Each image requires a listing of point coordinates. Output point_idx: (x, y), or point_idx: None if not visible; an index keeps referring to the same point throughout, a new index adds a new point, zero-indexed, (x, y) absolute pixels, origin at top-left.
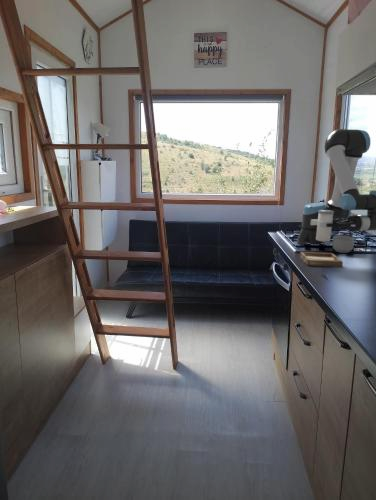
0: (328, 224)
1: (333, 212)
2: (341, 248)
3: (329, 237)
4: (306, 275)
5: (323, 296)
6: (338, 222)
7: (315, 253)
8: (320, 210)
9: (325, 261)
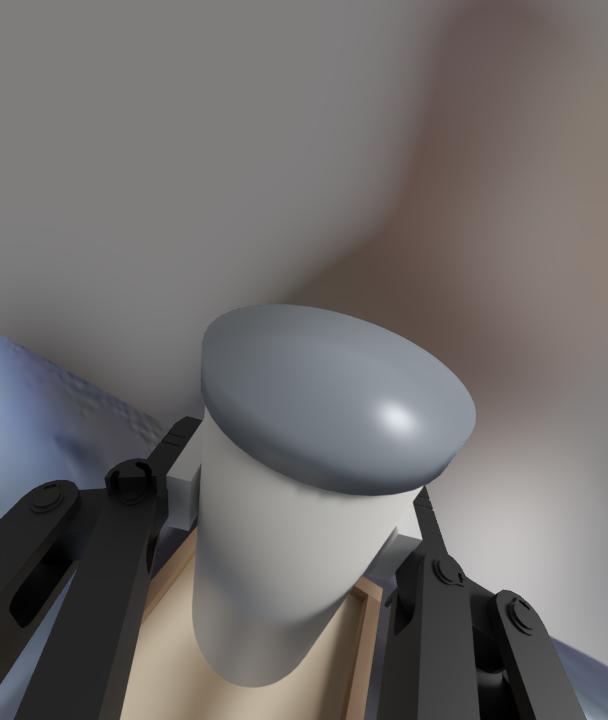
0: (179, 425)
1: (209, 387)
2: None
3: (193, 595)
4: (144, 418)
5: (23, 349)
6: (71, 587)
7: (346, 709)
8: (380, 336)
9: (153, 578)
